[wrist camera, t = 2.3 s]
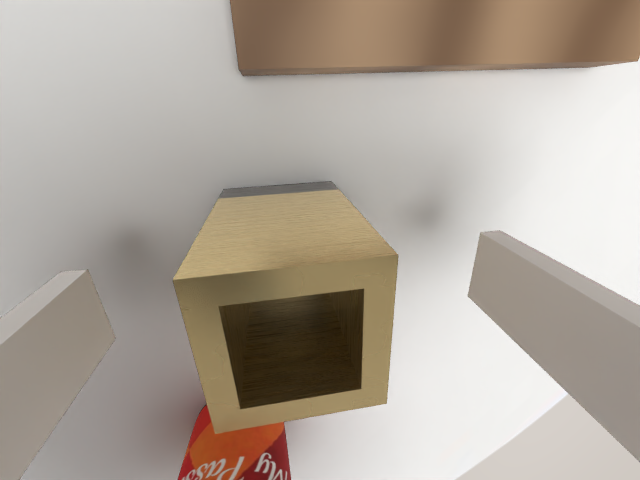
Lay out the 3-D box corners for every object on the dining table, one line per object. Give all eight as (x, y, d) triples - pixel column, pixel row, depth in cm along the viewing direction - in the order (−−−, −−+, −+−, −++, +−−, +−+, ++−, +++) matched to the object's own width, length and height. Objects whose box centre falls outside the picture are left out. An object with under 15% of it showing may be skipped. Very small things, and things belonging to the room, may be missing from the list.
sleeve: (239, 283, 16) (215, 433, 8) (223, 189, 14) (172, 280, 6) (333, 272, 16) (386, 403, 9) (331, 181, 14) (398, 255, 7)
